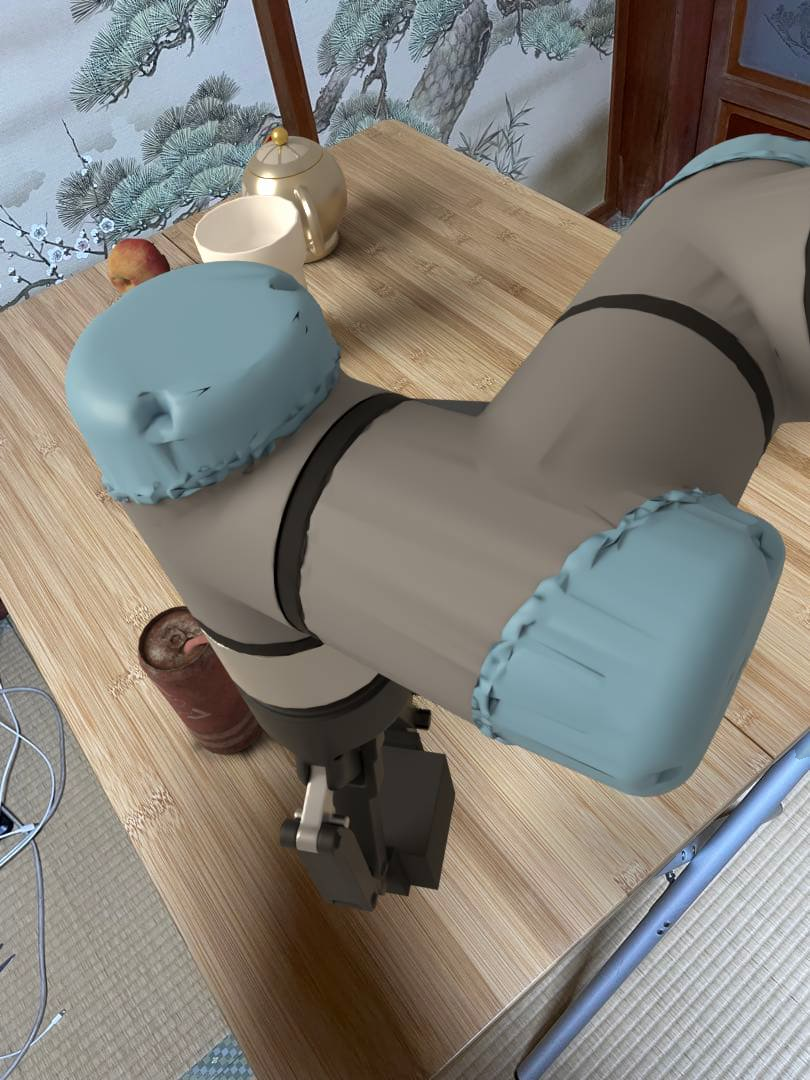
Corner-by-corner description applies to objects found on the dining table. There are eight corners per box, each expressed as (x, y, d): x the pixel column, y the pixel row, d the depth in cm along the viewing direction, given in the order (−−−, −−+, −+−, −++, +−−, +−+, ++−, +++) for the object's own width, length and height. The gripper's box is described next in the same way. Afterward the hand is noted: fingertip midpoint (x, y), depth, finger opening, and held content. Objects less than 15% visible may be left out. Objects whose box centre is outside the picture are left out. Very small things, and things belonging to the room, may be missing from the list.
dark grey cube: (438, 890, 50) (425, 857, 45) (342, 873, 51) (320, 839, 46) (455, 793, 53) (445, 753, 48) (365, 779, 54) (347, 739, 50)
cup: (237, 337, 104) (190, 208, 90) (325, 316, 104) (292, 184, 90) (244, 396, 96) (195, 265, 83) (339, 373, 97) (305, 238, 83)
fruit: (112, 298, 113) (87, 246, 107) (160, 271, 115) (138, 219, 109) (139, 321, 109) (114, 268, 102) (189, 293, 111) (167, 239, 105)
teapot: (248, 236, 118) (211, 120, 105) (338, 207, 119) (313, 88, 107) (280, 304, 107) (244, 183, 94) (379, 270, 108) (357, 147, 96)
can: (270, 751, 68) (216, 667, 57) (194, 761, 69) (127, 679, 58) (271, 686, 72) (222, 595, 61) (200, 696, 72) (138, 607, 62)
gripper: (294, 458, 40) (376, 688, 58) (139, 849, 29) (300, 985, 47) (445, 466, 39) (482, 701, 56) (342, 887, 27) (429, 1014, 45)
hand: (399, 830), depth 52 cm, fingers closed on dark grey cube, 6 cm apart
